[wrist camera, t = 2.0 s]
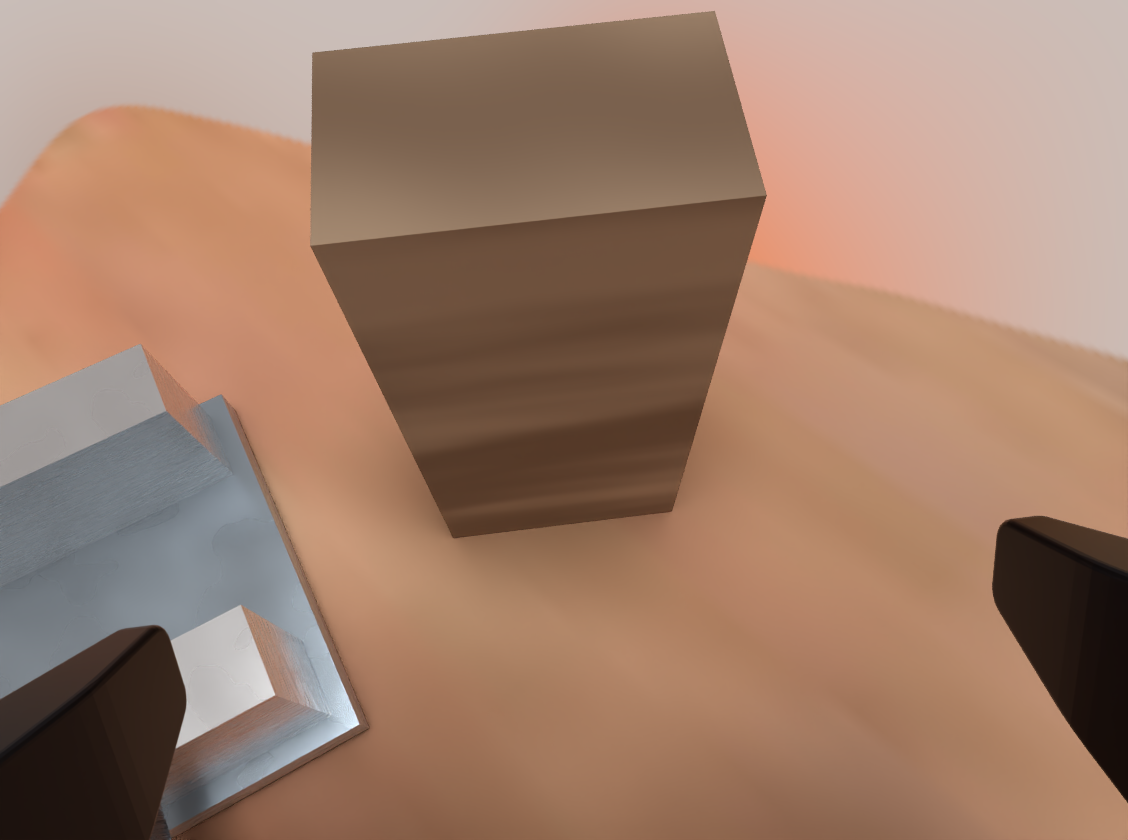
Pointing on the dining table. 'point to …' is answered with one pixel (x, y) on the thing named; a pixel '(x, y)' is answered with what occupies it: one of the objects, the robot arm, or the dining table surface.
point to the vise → (166, 573)
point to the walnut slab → (538, 254)
